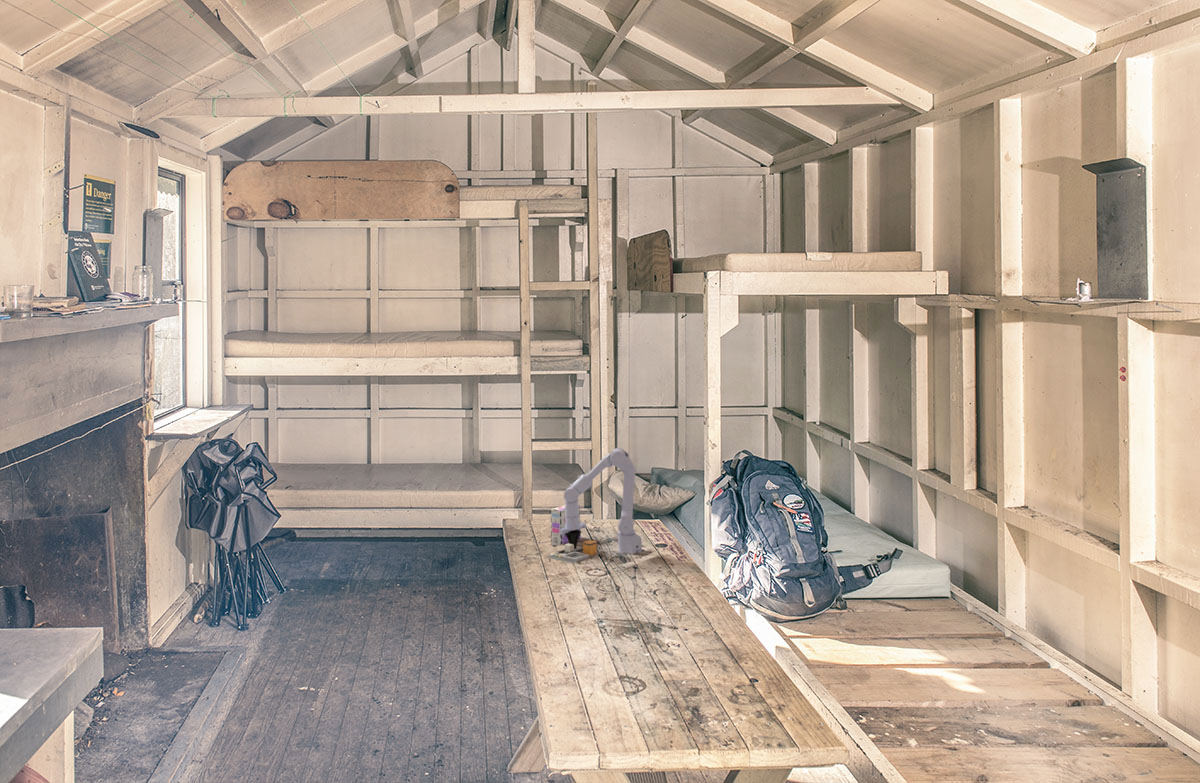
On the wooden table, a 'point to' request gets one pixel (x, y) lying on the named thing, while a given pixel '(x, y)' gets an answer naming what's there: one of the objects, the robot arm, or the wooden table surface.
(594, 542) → the cap
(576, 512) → the robot arm
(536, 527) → the wooden table surface
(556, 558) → the breaker panel
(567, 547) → the switch
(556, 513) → the candy box
